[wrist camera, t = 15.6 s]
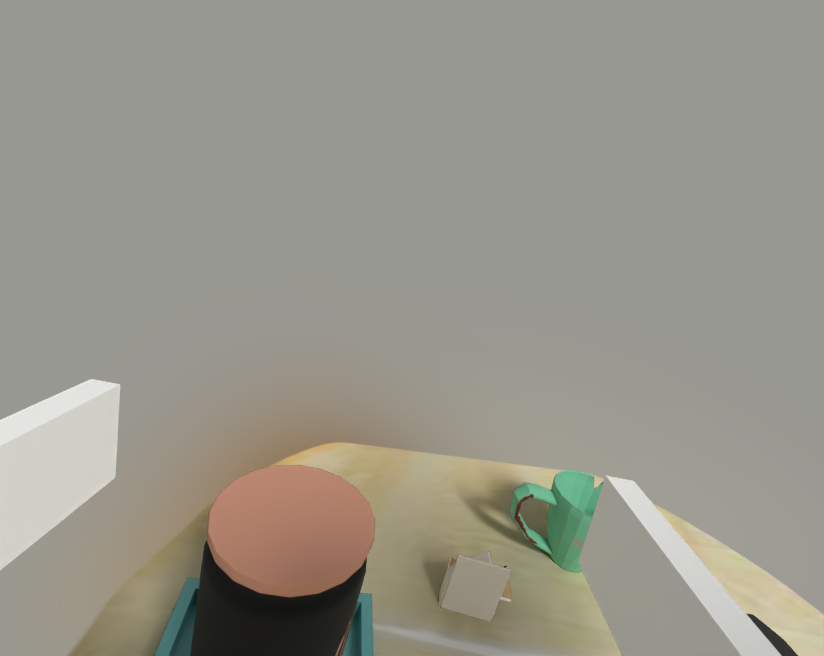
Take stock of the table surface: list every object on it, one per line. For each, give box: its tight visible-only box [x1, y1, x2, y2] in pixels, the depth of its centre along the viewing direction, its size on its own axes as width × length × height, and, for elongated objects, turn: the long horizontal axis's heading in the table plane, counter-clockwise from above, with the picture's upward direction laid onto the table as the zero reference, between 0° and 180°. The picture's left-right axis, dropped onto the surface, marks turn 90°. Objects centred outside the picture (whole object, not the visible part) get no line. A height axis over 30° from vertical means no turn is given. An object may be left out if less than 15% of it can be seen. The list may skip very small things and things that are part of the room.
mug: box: [510, 470, 604, 572], centre depth 57 cm, size 15×10×10 cm
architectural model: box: [439, 551, 512, 622], centre depth 47 cm, size 3×7×7 cm, turn 84°
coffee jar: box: [190, 465, 375, 656], centre depth 32 cm, size 11×11×18 cm
